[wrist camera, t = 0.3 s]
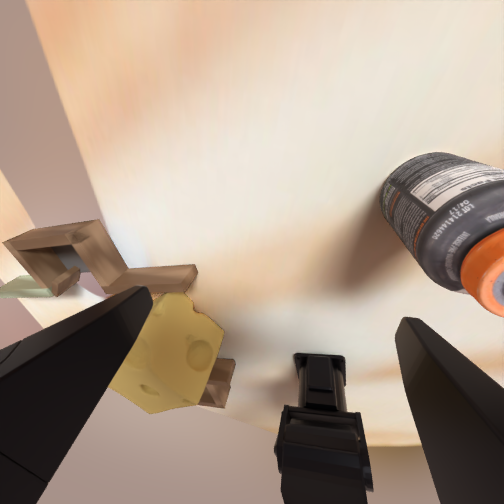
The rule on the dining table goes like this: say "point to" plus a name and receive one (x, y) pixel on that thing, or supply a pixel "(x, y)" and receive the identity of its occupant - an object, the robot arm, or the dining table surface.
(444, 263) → the pill bottle
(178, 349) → the cheese
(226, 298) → the dining table surface
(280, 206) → the dining table surface
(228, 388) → the wooden frame
